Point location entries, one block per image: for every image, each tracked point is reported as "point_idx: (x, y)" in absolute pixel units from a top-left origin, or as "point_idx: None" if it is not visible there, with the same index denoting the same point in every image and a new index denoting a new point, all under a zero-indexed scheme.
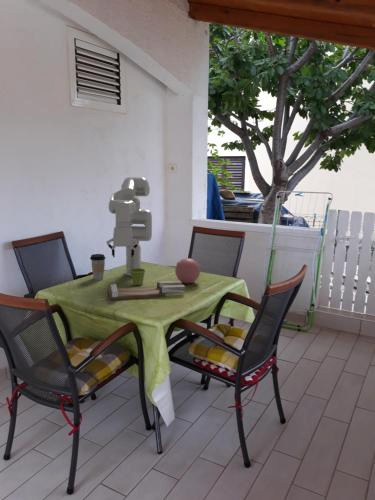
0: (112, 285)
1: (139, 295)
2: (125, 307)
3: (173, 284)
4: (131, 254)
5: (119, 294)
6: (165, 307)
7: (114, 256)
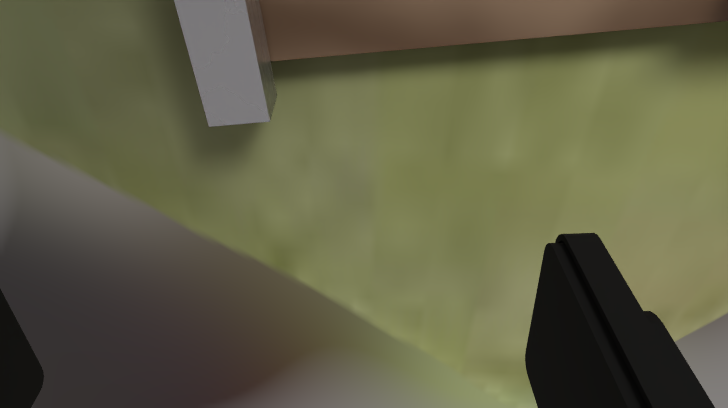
0: None
1: (500, 39)
2: (353, 223)
3: None
4: (546, 405)
5: (285, 9)
6: (650, 241)
7: (34, 398)
